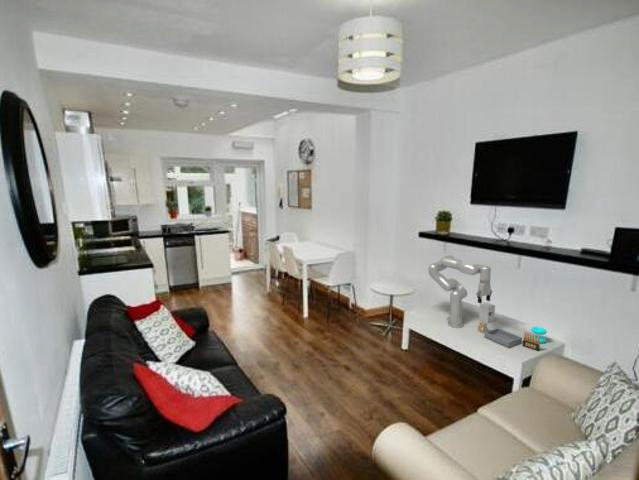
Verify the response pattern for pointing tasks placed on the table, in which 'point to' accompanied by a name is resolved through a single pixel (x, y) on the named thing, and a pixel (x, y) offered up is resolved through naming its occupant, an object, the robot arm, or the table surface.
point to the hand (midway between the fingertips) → (483, 301)
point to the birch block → (482, 326)
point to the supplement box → (487, 312)
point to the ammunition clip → (531, 341)
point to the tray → (503, 337)
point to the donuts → (539, 333)
